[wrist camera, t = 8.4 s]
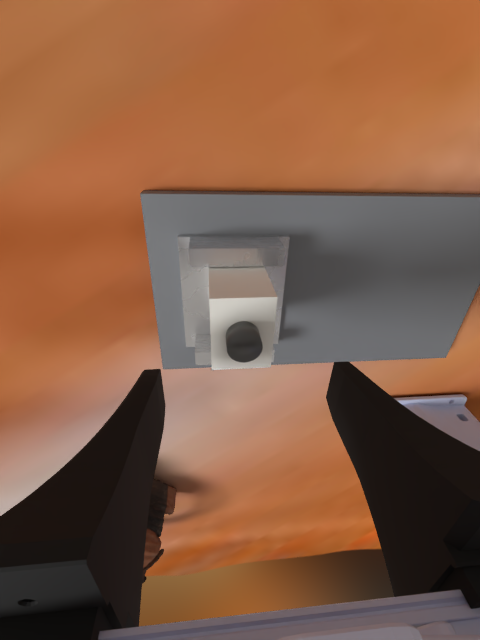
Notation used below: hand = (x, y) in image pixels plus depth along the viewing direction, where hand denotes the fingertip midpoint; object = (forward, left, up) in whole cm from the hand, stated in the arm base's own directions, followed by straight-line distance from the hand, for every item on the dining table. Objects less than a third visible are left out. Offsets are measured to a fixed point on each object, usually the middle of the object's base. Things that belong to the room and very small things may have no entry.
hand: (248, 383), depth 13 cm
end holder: (0, 0, -9) cm, 9 cm away
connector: (0, -1, -8) cm, 8 cm away
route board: (-6, 0, -9) cm, 11 cm away
